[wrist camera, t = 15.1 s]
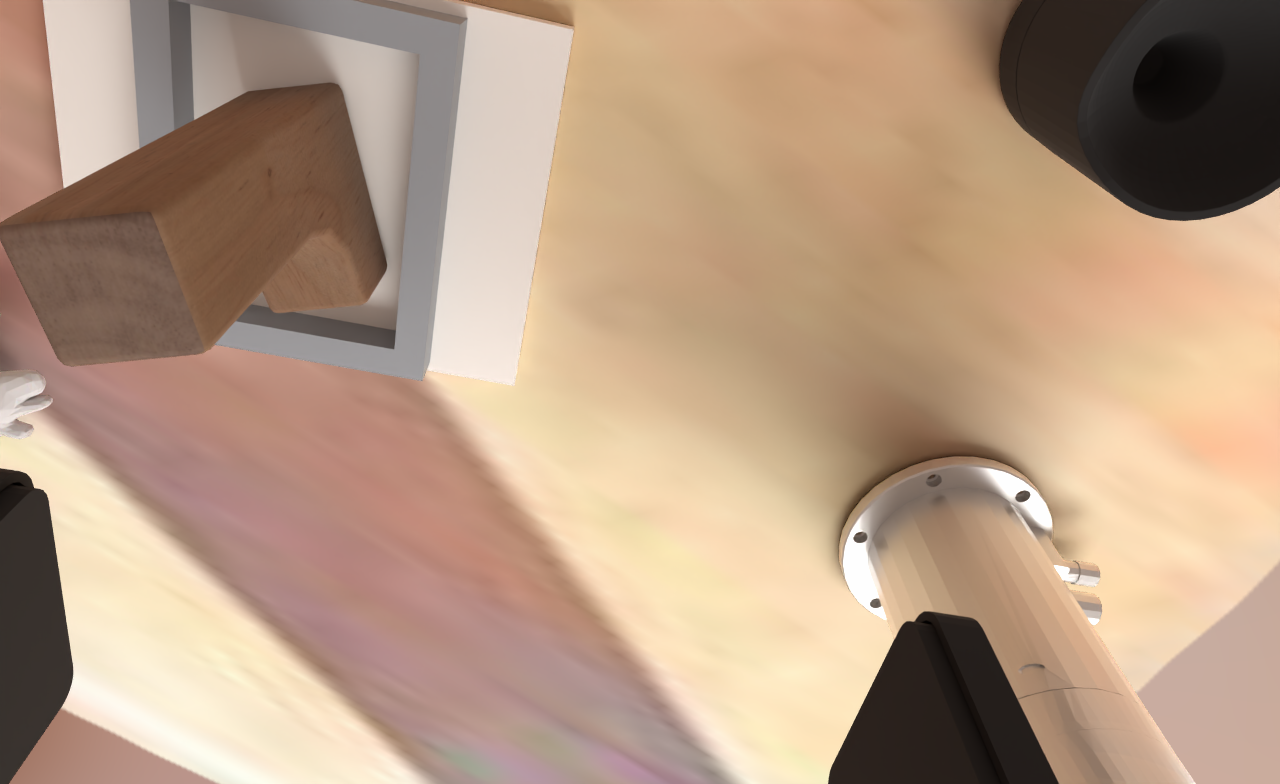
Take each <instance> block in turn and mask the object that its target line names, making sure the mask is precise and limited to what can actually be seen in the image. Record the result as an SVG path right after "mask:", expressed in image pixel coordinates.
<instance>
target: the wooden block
mask: <svg viewBox="0 0 1280 784" xmlns="http://www.w3.org/2000/svg"><path fill="white" fill-rule="evenodd" d="M0 241H1V243H2V245H3V247H4V249H5V251H6V253H7V255H8V257H9V259H10V261H11V263H12V265H13V267H14V269H15V271H16V273H17V276H18V278H19V280H20V282H21V284H22V286H23V288H24V290H25V292H26V294H27V296H28V298H29V300H30V302H31V304H32V306H33V308H34V311H35V313H36V315H37V317H38V319H39V321H40V323H41V325H42V327H43V329H44V331H45V333H46V335H47V337H48V339H49V341H50V344H51V346H52V348H53V350H54V352H55V354H56V356H57V358H58V359H59V360H60V361H61V362H62V363H63V364H64V365H67V366H82V365H93V364H103V363H113V362H124V361H134V360H145V359H155V358H165V357H176V356H186V355H196V354H202V353H204V352H206V351H208V350H210V349H211V348H212V347H213V346H214V345H215V343H216V342H217V341H218V340H219V339H220V338H221V337H222V336H223V335H224V333H225V332H226V331H227V330H228V329H229V328H230V327H231V326H232V325H233V323H234V322H235V321H236V320H237V319H238V318H239V317H240V316H241V315H242V314H243V312H244V311H245V310H246V309H247V308H248V307H249V306H250V305H251V304H252V302H253V301H254V300H255V299H256V298H257V297H258V296H259V295H260V294H261V292H263V294H264V297H265V299H266V301H267V303H268V306H269V308H270V309H271V310H272V311H273V312H275V313H286V312H296V311H306V310H317V309H327V308H337V307H348V306H358V305H363V304H365V303H366V302H367V301H368V300H369V298H370V297H371V295H372V293H373V292H374V290H375V289H376V287H377V285H378V284H379V282H380V280H381V279H382V277H383V276H384V274H385V272H386V270H387V262H386V258H385V254H384V250H383V247H382V243H381V239H380V235H379V231H378V227H377V223H376V219H375V215H374V211H373V207H372V204H371V200H370V196H369V192H368V188H367V184H366V180H365V176H364V172H363V169H362V165H361V161H360V157H359V153H358V149H357V145H356V141H355V138H354V134H353V130H352V126H351V122H350V118H349V114H348V110H347V107H346V103H345V99H344V95H343V91H342V90H341V88H340V86H339V85H338V84H335V83H331V82H330V83H321V84H311V85H302V86H292V87H283V88H273V89H264V90H255V91H248V92H246V93H244V94H242V95H240V96H238V97H236V98H234V99H233V100H231V101H229V102H227V103H225V104H223V105H221V106H219V107H218V108H216V109H214V110H212V111H210V112H208V113H206V114H204V115H203V116H201V117H199V118H197V119H195V120H193V121H191V122H189V123H187V124H186V125H184V126H182V127H180V128H178V129H176V130H174V131H172V132H170V133H168V134H166V135H164V136H162V137H160V138H159V139H157V140H155V141H153V142H151V143H149V144H147V145H145V146H143V147H141V148H140V149H138V150H136V151H134V152H132V153H130V154H128V155H126V156H124V157H123V158H121V159H119V160H117V161H115V162H113V163H111V164H109V165H107V166H105V167H104V168H102V169H100V170H98V171H96V172H94V173H92V174H90V175H88V176H87V177H85V178H83V179H81V180H79V181H77V182H75V183H73V184H71V185H69V186H68V187H66V188H64V189H62V190H60V191H58V192H56V193H54V194H52V195H51V196H49V197H47V198H45V199H43V200H41V201H39V202H37V203H35V204H34V205H32V206H30V207H28V208H26V209H24V210H22V211H20V212H18V213H16V214H15V215H13V216H11V217H9V218H7V219H6V220H4V221H3V222H1V223H0Z"/></svg>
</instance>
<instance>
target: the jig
mask: <svg viewBox="0 0 1280 784" xmlns="http://www.w3.org/2000/svg"><path fill="white" fill-rule="evenodd" d="M43 7H44V16H45V25H46V34H47V42H48V51H49V60H50V69H51V78H52V87H53V96H54V105H55V114H56V123H57V132H58V141H59V150H60V159H61V168H62V177H63V186H64V188H66V187H68V186H69V185H71V184H73V183H75V182H77V181H79V180H81V179H83V178H85V177H87V176H88V175H90V174H92V173H94V172H96V171H98V170H100V169H102V168H104V167H105V166H107V165H109V164H111V163H113V162H115V161H117V160H119V159H121V158H123V157H124V156H126V155H128V154H130V153H132V152H134V151H136V150H138V149H140V148H141V147H143V146H145V145H147V144H149V143H151V142H153V141H155V140H157V139H159V138H160V137H162V136H164V135H166V134H168V133H170V132H172V131H174V130H176V129H178V128H180V127H182V126H184V125H186V124H187V123H189V122H191V121H193V120H195V119H197V118H199V117H201V116H203V115H204V114H206V113H208V112H210V111H212V110H214V109H216V108H218V107H219V106H221V105H223V104H225V103H227V102H229V101H231V100H233V99H234V98H236V97H238V96H240V95H242V94H244V93H246V92H248V91H255V90H264V89H273V88H283V87H292V86H302V85H311V84H321V83H330V82H331V83H335V84H338V85H339V86H340V88H341V90H342V91H343V95H344V99H345V103H346V107H347V110H348V114H349V118H350V122H351V126H352V130H353V134H354V138H355V141H356V145H357V149H358V153H359V157H360V161H361V165H362V169H363V172H364V176H365V180H366V184H367V188H368V192H369V196H370V200H371V204H372V207H373V211H374V215H375V219H376V223H377V227H378V231H379V235H380V239H381V243H382V247H383V250H384V254H385V258H386V262H387V270H386V272H385V274H384V276H383V277H382V279H381V280H380V282H379V284H378V285H377V287H376V289H375V290H374V292H373V293H372V295H371V297H370V298H369V300H368V301H367V302H366V303H365V304H363V305H358V306H348V307H337V308H327V309H317V310H306V311H296V312H286V313H275V312H273V311H272V310H271V309H270V308H269V306H268V303H267V301H266V299H265V297H264V294H263V292H261V294H260V295H259V296H258V297H257V298H256V299H255V300H254V301H253V302H252V304H251V305H250V306H249V307H248V308H247V309H246V310H245V311H244V312H243V314H242V315H241V316H240V317H239V318H238V319H237V320H236V321H235V322H234V323H233V325H232V326H231V327H230V328H229V329H228V330H227V331H226V332H225V333H224V335H223V336H222V337H221V338H220V339H219V340H218V341H217V342H216V343H215V345H219V346H225V347H230V348H236V349H242V350H248V351H253V352H259V353H265V354H270V355H276V356H282V357H288V358H293V359H299V360H305V361H310V362H316V363H322V364H328V365H333V366H339V367H345V368H350V369H356V370H362V371H368V372H373V373H379V374H385V375H390V376H396V377H402V378H408V379H413V380H419V381H423V378H424V376H425V373H426V371H427V370H428V371H433V372H439V373H445V374H450V375H456V376H462V377H467V378H473V379H479V380H484V381H490V382H496V383H501V384H507V385H513V386H514V384H515V380H516V375H517V369H518V363H519V357H520V351H521V345H522V339H523V333H524V327H525V321H526V315H527V309H528V303H529V297H530V291H531V285H532V279H533V273H534V267H535V261H536V255H537V249H538V243H539V237H540V231H541V225H542V219H543V213H544V207H545V201H546V195H547V189H548V183H549V177H550V171H551V165H552V159H553V153H554V147H555V141H556V135H557V129H558V123H559V117H560V111H561V105H562V99H563V93H564V87H565V81H566V75H567V69H568V63H569V57H570V51H571V45H572V39H573V33H574V27H573V26H569V25H565V24H560V23H556V22H552V21H547V20H543V19H538V18H534V17H530V16H525V15H521V14H517V13H512V12H508V11H503V10H499V9H495V8H490V7H486V6H482V5H477V4H473V3H468V2H464V1H460V0H43Z"/></svg>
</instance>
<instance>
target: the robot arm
mask: <svg viewBox="0 0 1280 784" xmlns="http://www.w3.org/2000/svg"><path fill="white" fill-rule="evenodd" d="M1052 538H1053V523H1052V516H1051V513H1050V511H1049V508H1048V506H1047V503H1046V501H1045V500H1044V498H1043V497H1042V495H1041V494H1040V492H1039V491H1038V489H1037V488H1036V487H1035V486H1034V485H1033V484H1032V483H1031V482H1030V480H1029V479H1028V478H1027V477H1026V476H1024V475H1023V474H1021V473H1020V472H1018V471H1017V470H1015V469H1014V468H1012V467H1010V466H1008V465H1005V464H1002V463H1000V462H997V461H995V460H990V459H985V458H979V457H963V456H953V457H946V458H939V459H932V460H929V461H926V462H922V463H919V464H916V465H913V466H910V467H908V468H906V469H904V470H902V471H900V472H897V473H895V474H893V475H891V476H890V477H888V478H887V479H886V480H884V481H883V482H881V483H880V484H878V485H877V486H875V487H874V488H873V489H872V490H871V491H870V492H869V493H868V494H867V495H866V496H865V497H863V498H862V499H861V500H860V502H859V503H858V504H857V506H856V507H855V508H854V510H853V511H852V512H851V514H850V516H849V518H848V520H847V522H846V524H845V526H844V528H843V530H842V535H841V539H840V543H839V562H840V565H841V569H842V573H843V576H844V579H845V581H846V584H847V586H848V589H849V591H850V592H851V593H852V595H853V596H854V597H855V599H856V600H857V601H858V602H859V603H860V604H861V605H862V606H863V607H864V608H865V609H867V610H868V611H869V612H871V613H873V614H875V615H877V616H879V617H881V618H882V619H885V620H887V622H888V625H889V628H890V630H891V633H892V636H893V639H894V641H893V643H892V646H891V648H890V650H889V652H888V654H887V656H886V658H885V660H884V662H883V664H882V666H881V668H880V670H879V672H878V674H877V676H876V678H875V680H874V682H873V684H872V686H871V688H870V690H869V692H868V694H867V696H866V698H865V700H864V702H863V704H862V706H861V708H860V710H859V712H858V714H857V716H856V718H855V720H854V722H853V724H852V726H851V729H850V731H849V733H848V735H847V737H846V739H845V741H844V743H843V745H842V747H841V749H840V751H839V753H838V755H837V757H836V759H835V761H834V763H833V765H832V767H831V770H830V774H829V781H828V784H1196V783H1195V782H1194V780H1193V779H1192V777H1191V776H1190V774H1189V773H1188V771H1187V770H1186V769H1185V767H1184V766H1183V764H1182V763H1181V761H1180V760H1179V759H1178V757H1177V755H1176V754H1175V752H1174V751H1173V749H1172V748H1171V746H1170V745H1169V743H1168V742H1167V740H1166V739H1165V737H1164V736H1163V734H1162V732H1161V731H1160V729H1159V728H1158V726H1157V725H1156V723H1155V722H1154V720H1153V719H1152V717H1151V716H1150V715H1149V713H1148V711H1147V709H1146V708H1145V707H1144V705H1143V703H1142V702H1141V700H1140V699H1139V697H1138V695H1137V694H1136V692H1135V691H1134V689H1133V688H1132V686H1131V685H1130V683H1129V681H1128V680H1127V678H1126V677H1125V675H1124V674H1123V672H1122V671H1121V669H1120V667H1119V666H1118V664H1117V663H1116V661H1115V660H1114V658H1113V657H1112V655H1111V654H1110V652H1109V650H1108V649H1107V647H1106V646H1105V644H1104V643H1103V641H1102V640H1101V638H1100V636H1099V635H1098V633H1097V632H1096V630H1095V629H1094V627H1093V626H1092V625H1096V624H1097V622H1098V621H1099V620H1100V617H1101V614H1102V604H1101V602H1100V599H1099V597H1097V596H1096V595H1095V594H1092V593H1085V592H1079V591H1073V590H1069V588H1068V587H1067V585H1066V584H1065V582H1070V583H1071V584H1076V585H1082V586H1088V587H1095V586H1096V585H1097V584H1098V582H1099V579H1100V571H1099V568H1098V566H1096V565H1095V564H1092V563H1086V562H1080V561H1067V560H1064V559H1063V558H1062V556H1060V554H1059V553H1058V551H1057V550H1056V548H1055V547H1054V545H1053V544H1052ZM72 679H73V663H72V656H71V650H70V643H69V636H68V629H67V623H66V616H65V609H64V602H63V596H62V589H61V582H60V575H59V568H58V562H57V555H56V548H55V541H54V535H53V528H52V521H51V514H50V507H49V501H48V497H47V494H46V493H45V492H44V491H43V490H41V489H36V488H34V486H33V483H32V480H31V478H30V477H29V476H28V475H27V474H26V473H23V472H20V471H14V470H7V469H1V468H0V784H9V783H10V781H11V780H12V778H13V777H14V775H15V774H16V772H17V771H18V769H19V768H20V767H21V765H22V764H23V762H24V761H25V759H26V758H27V756H28V755H29V753H30V752H31V750H32V749H33V748H34V746H35V745H36V743H37V742H38V740H39V739H40V737H41V736H42V735H43V733H44V732H45V730H46V729H47V727H48V726H49V724H50V723H51V721H52V720H53V719H54V717H55V715H56V714H57V713H58V711H59V710H60V708H61V707H62V705H63V704H64V702H65V700H66V698H67V696H68V693H69V691H70V687H71V684H72Z"/></svg>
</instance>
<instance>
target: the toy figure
mask: <svg viewBox="0 0 1280 784" xmlns="http://www.w3.org/2000/svg"><path fill="white" fill-rule="evenodd" d="M0 316H1V313H0ZM45 386H46V381H45V378H44V377H43V376H42V375H41V374H40V373H39V372H38V371H35V370H30V369H26V370H14V371H0V436H1V435H4V436H7V437H11V438H16V439H22V438H26V437H28V436H30V435H31V433H32V432H33V430H34V428H33V426H32V425H30V424H27V423H23V422H21V421H19V420H17V419H16V418H18V417H20V416H22V415H25V414H29V413H32V412H35V411H39V410H42V409H44V408H46V407H48V406H49V405H50V404H51V403H52V401H53V399H52V398H51V397H50V396H49V395H38V394H40V393H42V392H43V390H44V388H45Z"/></svg>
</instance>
